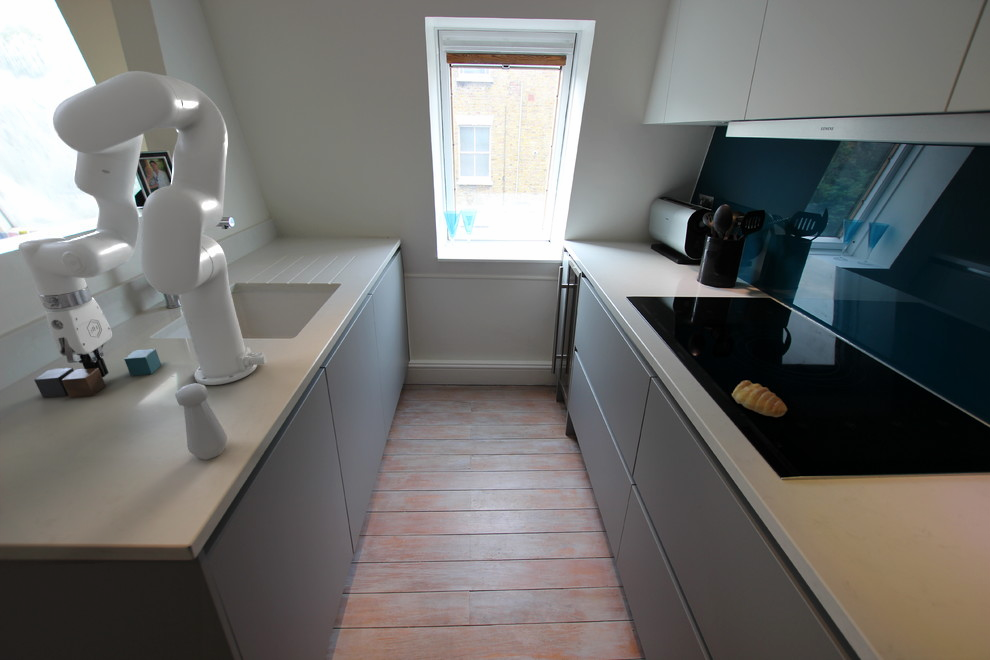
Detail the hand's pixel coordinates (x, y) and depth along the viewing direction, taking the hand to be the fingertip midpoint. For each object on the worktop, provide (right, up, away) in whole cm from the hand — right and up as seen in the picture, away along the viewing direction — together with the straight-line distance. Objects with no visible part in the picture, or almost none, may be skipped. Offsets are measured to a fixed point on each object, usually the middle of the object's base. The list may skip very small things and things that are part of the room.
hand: (98, 375), depth 99 cm
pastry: (+141, -5, -9) cm, 141 cm away
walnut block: (+1, -3, -3) cm, 5 cm away
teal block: (+7, +1, +5) cm, 8 cm away
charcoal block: (-5, -3, -3) cm, 7 cm away
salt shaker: (+39, -11, -22) cm, 46 cm away
